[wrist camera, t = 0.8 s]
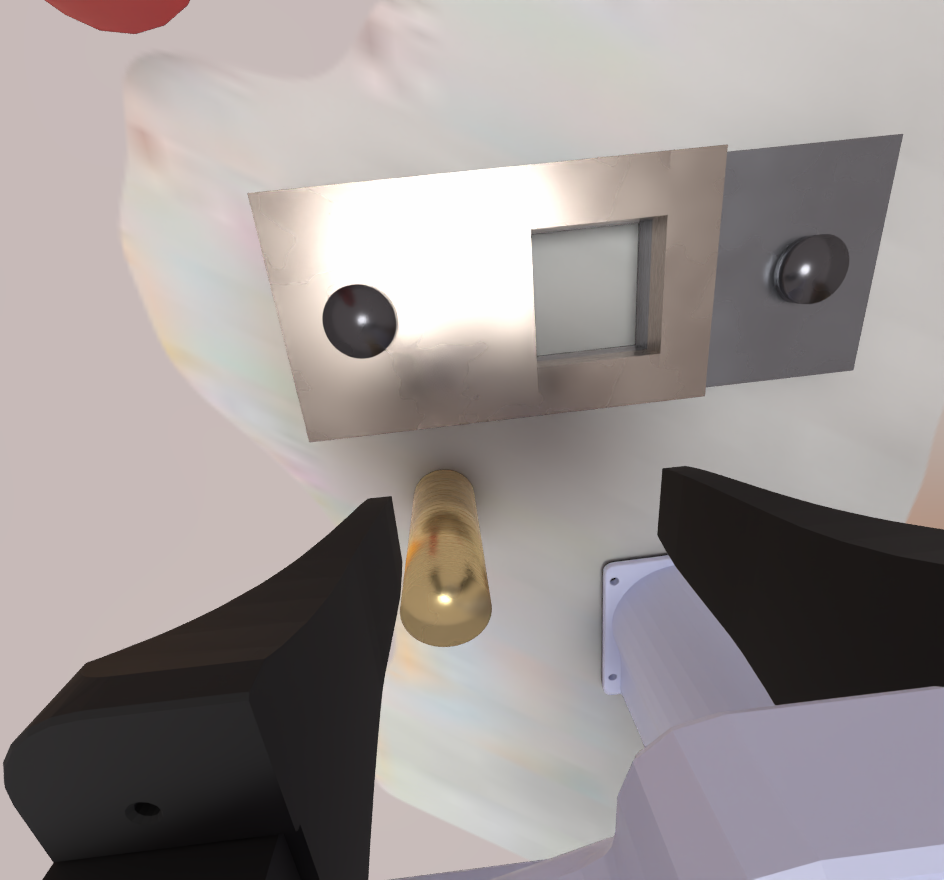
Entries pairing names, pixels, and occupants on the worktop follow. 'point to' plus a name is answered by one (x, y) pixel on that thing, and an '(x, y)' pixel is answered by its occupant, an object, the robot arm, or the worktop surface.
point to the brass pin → (445, 564)
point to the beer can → (121, 13)
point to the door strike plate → (511, 281)
